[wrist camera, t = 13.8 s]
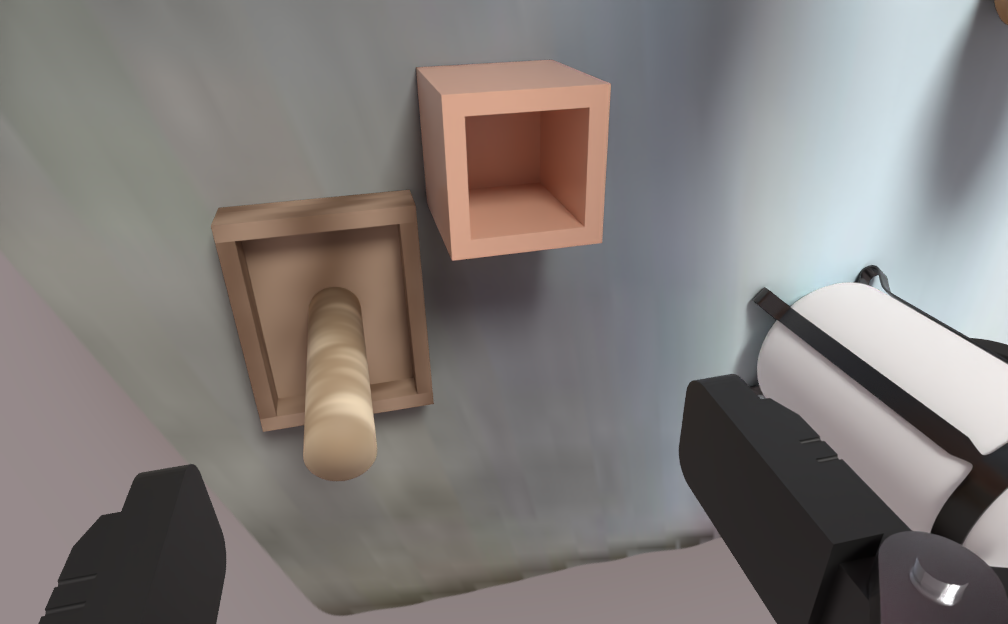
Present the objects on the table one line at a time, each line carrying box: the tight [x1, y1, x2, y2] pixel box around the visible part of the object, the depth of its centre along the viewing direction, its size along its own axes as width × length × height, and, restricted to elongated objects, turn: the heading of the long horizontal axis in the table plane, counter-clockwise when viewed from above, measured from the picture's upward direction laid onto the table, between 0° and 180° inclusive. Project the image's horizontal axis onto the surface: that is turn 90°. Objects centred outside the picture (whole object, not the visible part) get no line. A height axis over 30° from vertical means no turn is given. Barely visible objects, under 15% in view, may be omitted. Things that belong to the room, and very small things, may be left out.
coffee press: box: [750, 265, 1008, 568], centre depth 40 cm, size 17×16×30 cm
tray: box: [211, 190, 434, 432], centre depth 40 cm, size 11×14×3 cm
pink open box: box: [416, 60, 611, 261], centre depth 35 cm, size 8×8×9 cm
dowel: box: [303, 287, 377, 481], centre depth 35 cm, size 3×3×14 cm
